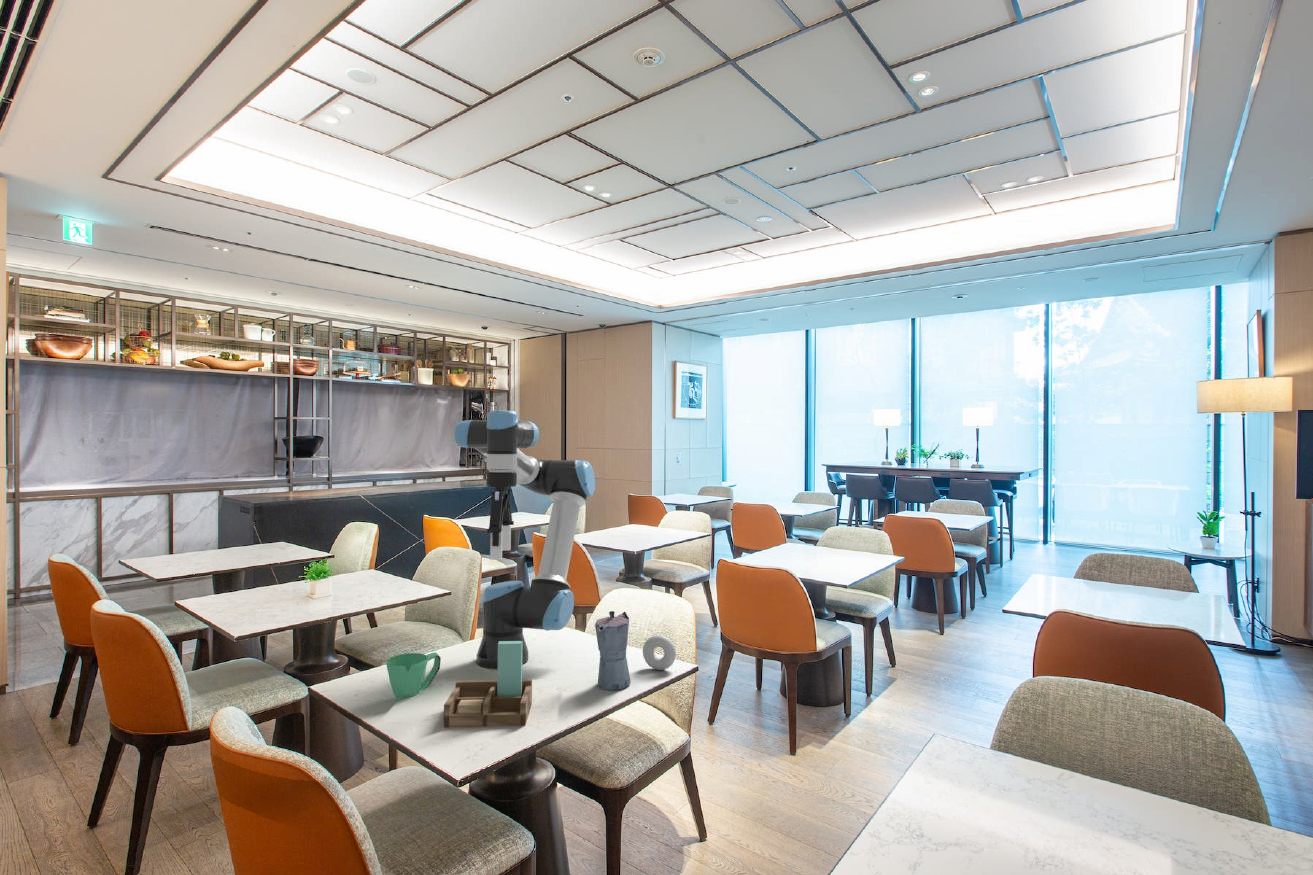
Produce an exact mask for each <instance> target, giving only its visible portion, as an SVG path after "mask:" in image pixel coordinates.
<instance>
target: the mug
mask: <svg viewBox="0 0 1313 875" xmlns="http://www.w3.org/2000/svg"><path fill="white" fill-rule="evenodd" d="M441 658H442V657H441V656H440V655H439V654H438V653H437V652H431V653H428V654H425V653H420V652H409V653H401V654H397V655H393V656H391V657H389V658H388V659H386V663H385V664H386V670H387V674H388V679H389V680H388V681H389V683H390V686H391V690H392V693H393V694H394V697H395V699H396V702H397V701H399V700H400V699H401V698H409V697H410V698H411V697H413V696H416V695H418V694H420V691H422V690H424V689H425V688H427V687H428V686H429V685H431V683H432V682H433V681H434V680H435V677H436V676H437V674H438V672H439V671H440V667H441ZM431 660H433V665H432V668H431V669H430V671H429V673H428V675H427V677H426V678H425V675H426V670H427V665H428V662H429V661H431ZM424 678H425V680H424Z"/></svg>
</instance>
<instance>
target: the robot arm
mask: <svg viewBox="0 0 1313 875" xmlns="http://www.w3.org/2000/svg"><path fill="white" fill-rule="evenodd" d="M539 438H540V431H539V428H538V426H537V425H536V424H535V423H534V422H532V421H529V420H526V419H523V420H520V419H518V414H517V412H516V411H514V410H500V409H499V410H490V411H489V412H488V413H487V420H486V419H485V420H483V419H482V420H481V419H480V420H479V419H478V420H477V419H469V420H468V419H467V420H461V421H459V422H458V423H457V424H456V426H455V429H454V440H455V443H456V445H457V446H458V447H460V448H467V449H471V448H472V449H474V450H476V451H477V452H479V453H480V454H482V455H483V456H484V457H485V458H484V462H485V463H486V469H487V470H488V471H487V473H486V480H485V481H486V486H487V487H489V488H495V489H494V491H492V492H491V502H490V503H491V505H490V513H489V515H490V516H489V524H488V525H489V526H488V528H487V529H486V531H487V533H490V535H489V536H490V540H489V541H490V543H489V544H490V545H489V547H490V549H489V560H502V559H503V551H511V542H512V540H511V539H512V538H511V537H512V536H511V532H512V528H511V527H512V526H514V524H515V521H514V520H513V518H512V517H513V515H512V503H511V502H512V500H511V488H512V487H513V488H514V487H516V486H517V485H519V486H521V487H522V488H524V489H527V490H528V491H531V492H533V493H535V494H539V495H542V496H549V499H550V501H552V508H551V513H550V517H549V521H548V526H547V531H546V535H545V540H544V546H543V549H542V553H541V554H542V556H541V560H540V564H539V570H538V574H537V576H535V577H534V578H532V579H531V582H530V587H525V584H524V582H523V581H521V580H508V581H503V582H498V583H494V584H493V583H492V584H491V585H488V586H486V588H484V590H483V598H482V599H483V600H482V638H481V641H480V644H479V648H478V651H477V653H476V665H477V666H479V667H481V668H485V669H491V670H492V669H494V670H495V669H496V670H498V643H499V641H523V646H522V665H525V664H526V663H528V661H529V649H528V646H527V643H526V640H525V636H524V632H523V631H524V629H530V630H531V629H534V630H545V631H560V630H563V629H565V628H566V626H567V625H568V624H569V621H570V620H571V617H572V615H573V612H574V606H575V596H574V593H573V592H572V591H571V590H570V589H571V585H570V584H569V582H568V581H567V577H568V574H569V573H568V572H569V566H570V562H571V557H572V552H573V546H574V540H575V536H576V530H577V525H578V519H579V513H580V509H581V507H583V506H585V505H586V502H587V498H590V497H592V496H594V494H595V491H596V479H595V478H596V477H595V473H594V468H593V467H592V464H591V463H590V462H589V461H587V460H578V459H575V460H574V459H573V460H571V459H570V460H567V459H566V460H564V459H562V460H559V459H557V460H556V459H536V458H535V457H533V456H531V455H526V454H525V453H524V452H523V451H521V450H520V449H528V448H531V447H534V446H535V445H536V444H537V442H539V441H538V440H539Z"/></svg>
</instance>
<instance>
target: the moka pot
mask: <svg viewBox="0 0 1313 875" xmlns="http://www.w3.org/2000/svg"><path fill="white" fill-rule="evenodd" d="M608 614H609V616H606V617H602V618H599V619H597V620H596V621H595V623H594V627H595V635H596V639H597V640H596V641H597V648H598V651H599V664H598V666H599V667H598V676H597V677H598V678H597V684H598V685H597V686H598V688H600V689H603V690H605V691H617V690H619V689H620V690H622V689H623V690H624V689H625V688H628V687H629V686H630V684H631V676H630V670H629V665H628V658H627V647H628V638H629V626H630V617H629V616H628V614H627V612H626V611H624V612H622V613H620V614H618V615H617V616H615V611H614V610H611V611H609V612H608ZM620 690H619V691H620Z"/></svg>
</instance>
